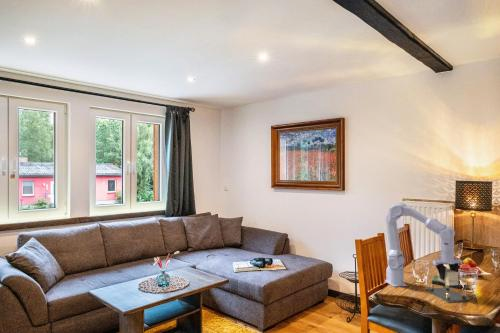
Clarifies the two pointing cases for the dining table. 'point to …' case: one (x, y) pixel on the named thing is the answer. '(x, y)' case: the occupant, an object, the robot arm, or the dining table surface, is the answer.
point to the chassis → (448, 294)
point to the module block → (449, 277)
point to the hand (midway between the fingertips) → (447, 278)
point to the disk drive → (437, 282)
